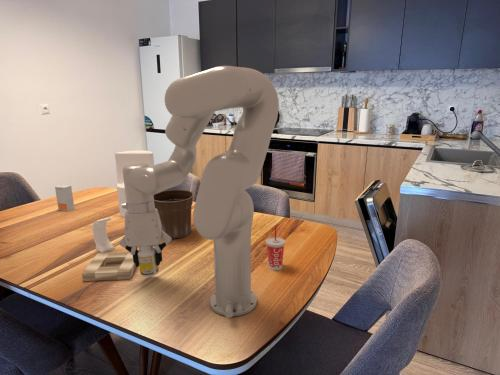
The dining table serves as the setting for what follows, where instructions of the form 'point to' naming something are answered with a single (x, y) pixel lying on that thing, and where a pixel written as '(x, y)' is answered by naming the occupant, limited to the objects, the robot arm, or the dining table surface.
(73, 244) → the dining table surface
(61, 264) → the dining table surface
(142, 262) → the supplement bottle
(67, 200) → the skincare box
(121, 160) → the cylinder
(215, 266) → the robot arm
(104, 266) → the socket block
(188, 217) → the plant pot
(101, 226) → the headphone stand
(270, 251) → the beverage cup
